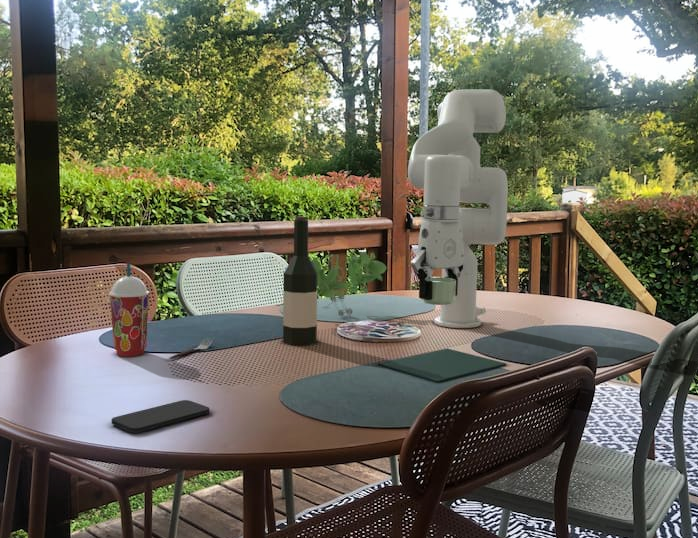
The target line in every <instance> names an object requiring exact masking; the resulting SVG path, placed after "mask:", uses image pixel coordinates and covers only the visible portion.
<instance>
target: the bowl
mask: <svg viewBox="0 0 698 538" xmlns="http://www.w3.org/2000/svg"><path fill="white" fill-rule="evenodd" d="M430 281H432V299H431V300H426V299H420V300H421V301H423V302H424V304H428V305H432V306H434V305H435V306H441V305H448V304H452V302H454V301H455V294H456V280H455V279H452V278H445V277H442V276H431V279H430Z"/></svg>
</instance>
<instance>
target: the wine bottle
mask: <svg viewBox="0 0 698 538" xmlns="http://www.w3.org/2000/svg"><path fill="white" fill-rule="evenodd" d="M311 261H312V259H311V258H310V257H309V219H307V216H301V215H300V216H295V219H294V220H293V256H292V258H291V259H290V261H289V263H288V265H287V267H286V268H285V270H284V272H283V297H282V298H283V302H282V304H283V305H282V306H283V311H282V312H283V313H282V315H283V316H282V317H283V321H282V322H283V324H282V325H283V326H282V328H283V329H282V343H283V344H287V345H290V346H308V345H314V344H316V343H317V340H318V293H317V288H318V284H317V275H318V272H317V271H316V269H315V267H314V265H313V264H312V262H311Z"/></svg>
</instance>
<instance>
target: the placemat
mask: <svg viewBox="0 0 698 538" xmlns="http://www.w3.org/2000/svg"><path fill="white" fill-rule="evenodd" d="M377 365H378V366H380V367H384V368H386V369H387V368H388V369H391V370H394V371H397V372H401V373H404V374H408V375H410V376H414V377H417V378H421V379H424V380H428V381H430V382H434V383H441V382H446V381H448V380H452V379H453V380H454V379H457V378H460V377H464V376H468V375H472V374H477V373H480V372H484V371H488V370H492V369H496V368H500V367H504V366H506V365H507V362H502V361H499V360H494V359H491V358H486V357H483V356H479V355H475V354H470V353H467V352H462V351H458V350H455V349H451V348H443V349H439V350H434V351H429V352H423V353H420V354H414V355H410V356H406V357H401V358H396V359H391V360H387V361H382V362H378V364H377Z"/></svg>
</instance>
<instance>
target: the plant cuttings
mask: <svg viewBox="0 0 698 538" xmlns="http://www.w3.org/2000/svg"><path fill="white" fill-rule="evenodd" d="M347 254H348V256H349V257H347V261H348V265H347V273H348V276H349V278H350V281H349V282H347V281H343V277H344V276H345V274H344V273H345V272H344V269H343V268H342V266H340V265H339V254H338V253H336V255H335V254H330V255H329V256H328V259H329V262H330V263H331V264H332V265H331V268H330V269H329V271H328V273H327V274H324V273H325V271H327V269H328V267H327V266H326V265H325V266H324V267H323V268H322V265H321V262H320V261H319V260H318V259H317V258H315V257H314V258H312V259H311V262H312V264H313V265H314V267H315V269H316V271H317V272H318V275H317V286H318V287H317V297H318V296H322V297H325V298H329V299H330V301H331V302H330V303H329V304H328V305H327V307H328V306H331V305H332V304H334V306H335V309H337V313H338V316H339V317H341V318H344V319H348V318H349V317H350V315H352V314H353V308H351V307H346V304H345V301H344V299H345V295H347V294H348V293H349V292H350V294H353V293H355V292H356V290H357V289H358V287H361V291H362V292H364V293H365V295H367V294H368V292H369V289H368V286H367V283H371V282H372V281H374V280H376V279H377V280H379V281H381V282H383V276H382V274H384V273H385V272H386V270H387V266H386V264H385V263H384V262H381V261H379V260H375V259H376V255H375V253H374V252H371V254H370V255H369V254H367V253H366V252H364V251H360V252H359V255H360V256H357V255H355V252H354V251H351V252H350V251H349V252H348V253H347ZM332 256H334V257H335V258H336V261H335V262H332V259H331V258H332ZM334 264H335V265H334ZM333 266H334V267H333ZM339 269H340V270H341V271H342V276H340V274H339ZM337 278H338V280H337ZM365 284H366V285H365ZM345 292H346V293H345ZM338 301H339V302H340V303H341V305H342V307H343V308H344V309H340V308H339V306H338V304H337V302H338ZM342 302H343V303H342ZM279 306H280V307H281V306H283V303H280V304H276V307H279ZM345 314H347V316H346V317H345V316H344V315H345Z"/></svg>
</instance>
